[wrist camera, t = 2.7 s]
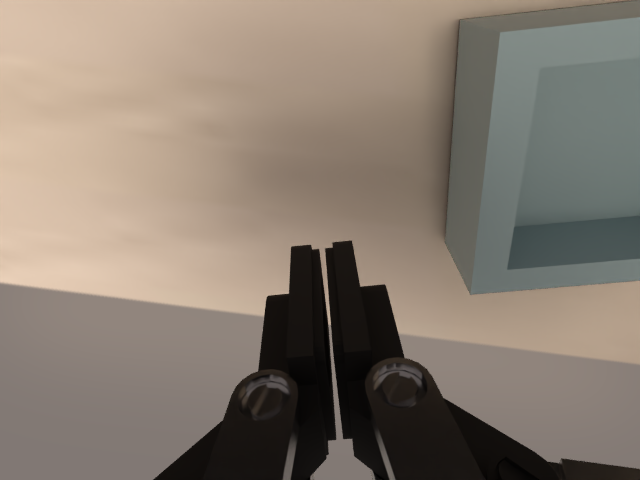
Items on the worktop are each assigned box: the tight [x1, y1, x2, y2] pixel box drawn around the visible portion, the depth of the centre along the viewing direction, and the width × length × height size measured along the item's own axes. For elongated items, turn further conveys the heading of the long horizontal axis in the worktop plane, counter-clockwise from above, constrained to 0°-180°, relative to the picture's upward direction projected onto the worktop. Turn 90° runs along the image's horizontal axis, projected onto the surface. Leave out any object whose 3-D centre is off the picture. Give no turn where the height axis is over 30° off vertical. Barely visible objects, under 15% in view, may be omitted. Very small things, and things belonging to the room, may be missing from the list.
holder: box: [445, 0, 640, 295], centre depth 18 cm, size 12×11×4 cm
